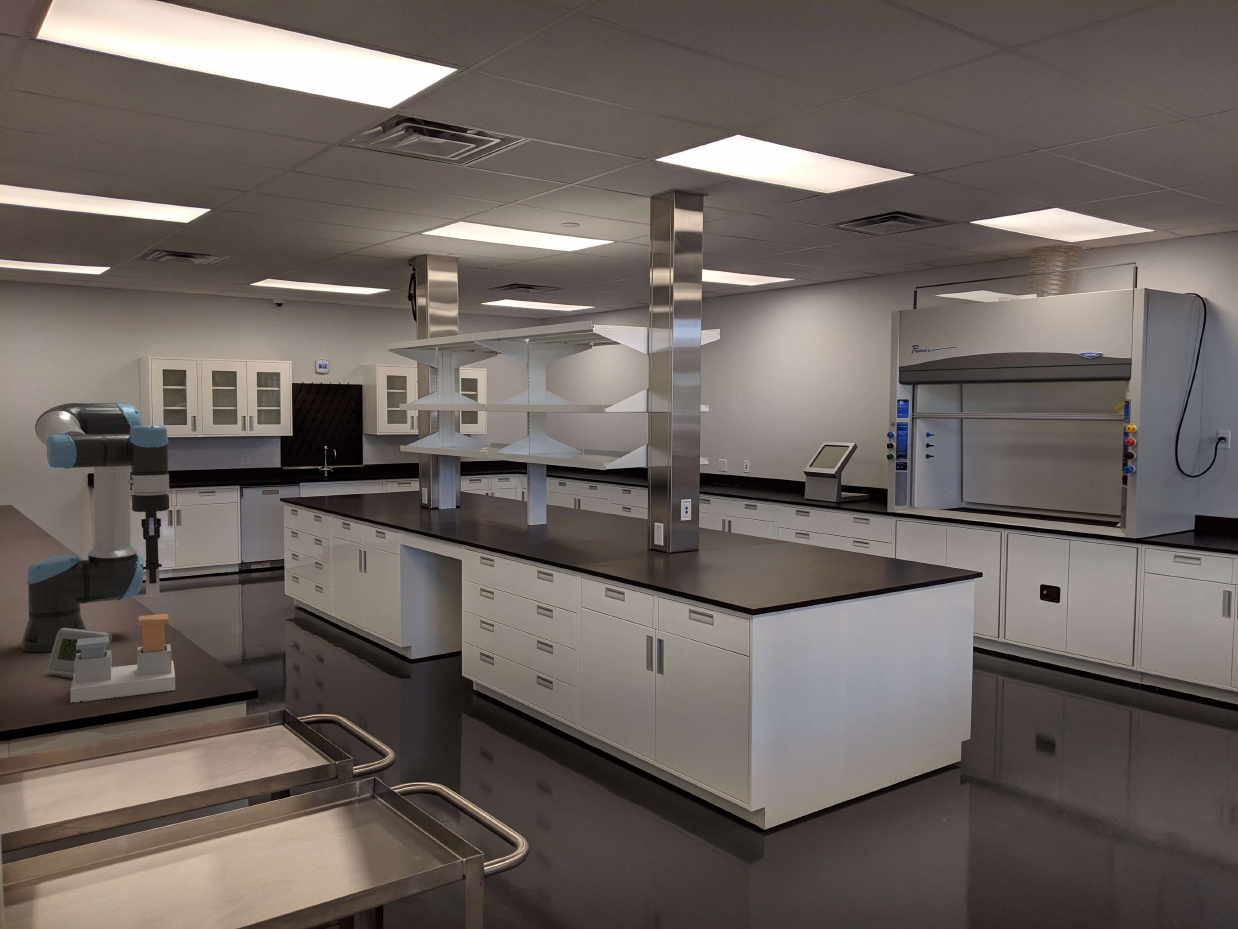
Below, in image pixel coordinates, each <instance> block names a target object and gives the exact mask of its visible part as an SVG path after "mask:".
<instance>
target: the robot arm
mask: <svg viewBox="0 0 1238 929" xmlns="http://www.w3.org/2000/svg"><path fill="white" fill-rule="evenodd" d="M34 429H35V434H36V436H37V438H38V439H39V440H40V441H41V443H42V444H44V445H45V446H46V457H47V458H46V459H47V463H48V465H49V467H50V468H56V469H67V470H68V469H74V468H77V469H78V468H93V487H94V488H93V491H94V493H93V498H94V499H93V500H94V501H93V502H94V503H93V504H94V506H93V508H94V510H93V512H94V517H93V518H94V519H93V520H94V522H93V524H94V525H93V526H94V546H93V547H92V549H90V550H89V551H88V554H87V559H83V560H82V559H81V560H80V557H79V556H78V555H77V554H76V555H75V554H74V555H73V554H71V555H62V556H61V555H60V556H56V557H49V558H46V559H42V560H38V561H36V562H33V563H32V564H30V566H29V567H28V569H27V580H26V584H27V592H28V594H27V595H28V597H27V598H28V600H27V602H28V606H27V607H28V620H27V624H26V626H25V629H24V634H23V636H22V638H21V650H22V651H23V652H27V653H52V650H53V646H54V643H55V640H56V636H57V633H58V631H59V630H60V629H62V628H70V629H74V628H75V629H84V630H88V629H87V627H86V624H85V622H84V620H83V617H82V615H81V605H83V604H91V603H92V604H93V603H100V602H109V601H121V600H127V599H130V598H135V597H136V596H138V594H139V593H140V591H141V588H142V586H143V582H144V574H145V591H146V593H145V594H146V595H145V596H146V599H152V598H160V596H161V594H160V592H161V591H160V587H161V585H160V568H162V567H163V564H162V563H159V561H160V560H159V539H160V538H161V530H160V529H161V527H162V519H161V517H160V518H158V517H157V516H158V515H157V512H166V511H168V510H169V509H170V495H169V494H168V493H167V492H169V491H170V475H169V438H168V428H166V426H164V425H143V423H142V418H141V415H140V412H139V410H138V409H137V407H136V406H135V405H133V404H130V403H120V402H119V403H118V402H109V403H108V402H100V403H99V402H91V403H90V402H87V403H84V402H70V403H69V402H68V403H64V404H63V403H62V404H59V405H55V406H53V407H51V408H49V409H47V410H45V411H44V412H43V413H41V414H40V415H39V417H38V418H37V420H36V422H35V425H34ZM131 492H132V493H133V494H132V496H131ZM131 510H132V512H134V513H145V518H142V519H140V520H141V525H140V526H141V528H142V538H143V540H145V560H144V559H143V556H141V555H140V554H137V549H136V548H135V547H133V546H132V545H131ZM144 561H145V563H144ZM144 564H145V565H144ZM144 570H145V571H144Z"/></svg>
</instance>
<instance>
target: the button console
mask: <svg viewBox="0 0 1238 929" xmlns="http://www.w3.org/2000/svg"><path fill="white" fill-rule="evenodd" d="M136 649H137V651H136V660H137V661H136V662H137V663H136V664H130V665H129V664H128V665H122V666H120V665H119V666H113V664H112V663H113V662H112V658H113V657H112V649H109V650H107V651H105V657H99V658H90V659H81V653H78V654H76V657H75V660H74V668H75V674H74V678H72V682H71V686H70V692H69V693H70V704H73V703H72V702H75V703H81V702H80V701H83V702H90V701H96V700H104V699H105V700H106V698H107V699H114V697H115V698H121V697H129V696H137V695H138V696H139V695H147V694H153V693H162V692H163V693H164V692H169V691H170V692H171V691H176V673H175V665H174V660H172V647H171V644H170V643H168V644H166V643H165V651H156V652H147V653H143V646H138V647H137V648H136Z"/></svg>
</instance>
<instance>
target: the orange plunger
mask: <svg viewBox="0 0 1238 929" xmlns="http://www.w3.org/2000/svg"><path fill="white" fill-rule="evenodd" d="M137 617H138V620H137V621H138V625H137V626H138V627H142V647H143V653H147V652H156V651H165V644H166V642H165V641H166V634H165V633H166V632H165V628H166V627H165V624H169V614H168V613H159V614H149V615H148V614H147V615H138V616H137Z"/></svg>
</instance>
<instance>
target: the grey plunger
mask: <svg viewBox="0 0 1238 929" xmlns="http://www.w3.org/2000/svg"><path fill="white" fill-rule="evenodd" d="M108 644H109V636H107V637H96V638H86V639H78V641H77V644H76V650H80V649H81V659H90V658H99V657H105V647H108Z"/></svg>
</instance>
